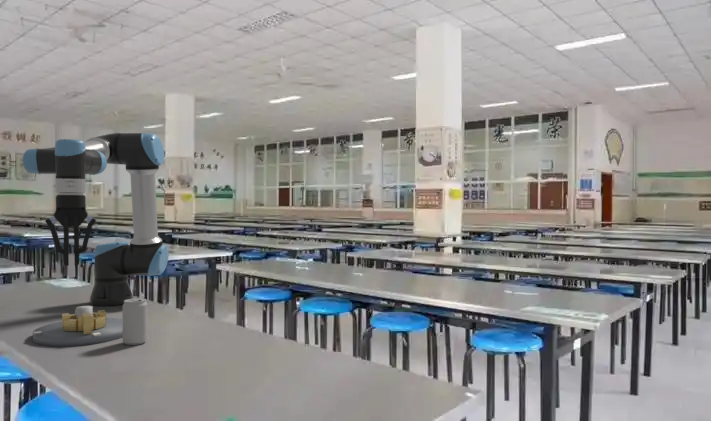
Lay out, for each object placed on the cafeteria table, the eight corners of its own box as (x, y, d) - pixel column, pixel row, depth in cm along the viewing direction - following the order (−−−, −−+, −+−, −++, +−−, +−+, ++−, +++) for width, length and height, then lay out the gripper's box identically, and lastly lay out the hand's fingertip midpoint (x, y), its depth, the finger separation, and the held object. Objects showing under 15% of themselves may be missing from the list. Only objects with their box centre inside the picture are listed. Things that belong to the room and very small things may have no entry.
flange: (115, 320, 177) (115, 296, 177) (145, 335, 158) (145, 308, 158) (24, 332, 160) (24, 305, 160) (44, 351, 140) (44, 321, 140)
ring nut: (61, 324, 161) (61, 308, 161) (102, 320, 167) (102, 304, 166) (64, 336, 147) (64, 318, 147) (109, 331, 153) (109, 314, 153)
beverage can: (138, 346, 146) (138, 302, 146) (117, 345, 147) (117, 301, 147) (152, 340, 152) (152, 298, 152) (131, 339, 154) (131, 297, 153)
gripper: (43, 194, 147) (44, 280, 148) (96, 194, 153) (97, 277, 154) (45, 193, 154) (46, 276, 155) (96, 194, 159) (97, 273, 160)
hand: (71, 276), depth 154 cm, fingers closed
